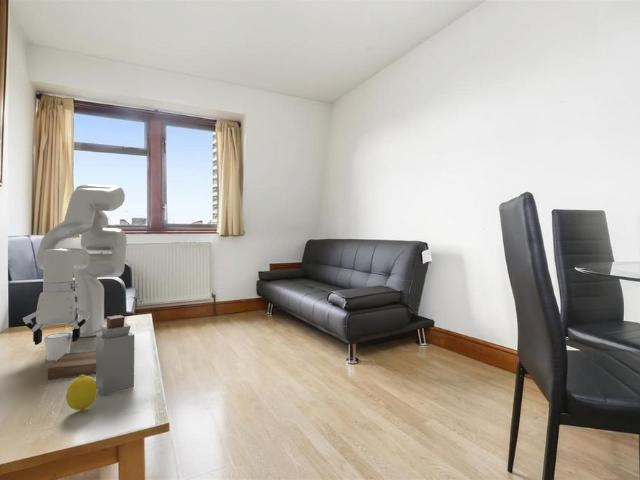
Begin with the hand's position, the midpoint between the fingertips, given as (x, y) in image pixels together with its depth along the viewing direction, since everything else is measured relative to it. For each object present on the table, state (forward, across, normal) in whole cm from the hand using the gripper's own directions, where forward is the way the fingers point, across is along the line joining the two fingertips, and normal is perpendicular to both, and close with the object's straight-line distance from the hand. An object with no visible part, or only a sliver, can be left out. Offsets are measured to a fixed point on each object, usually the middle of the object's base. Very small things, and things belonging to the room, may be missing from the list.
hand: (57, 342), depth 105 cm
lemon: (+7, -18, +40) cm, 44 cm away
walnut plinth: (+5, -10, +12) cm, 17 cm away
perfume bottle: (+6, -22, +29) cm, 37 cm away
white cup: (+5, 0, -1) cm, 5 cm away
